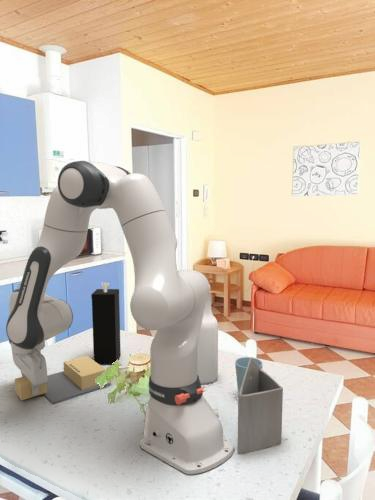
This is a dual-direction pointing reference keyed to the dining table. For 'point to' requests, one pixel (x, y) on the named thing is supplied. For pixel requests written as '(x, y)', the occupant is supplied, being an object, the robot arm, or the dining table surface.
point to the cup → (243, 369)
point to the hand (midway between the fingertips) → (30, 388)
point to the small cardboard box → (27, 388)
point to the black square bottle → (106, 324)
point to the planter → (259, 410)
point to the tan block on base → (74, 380)
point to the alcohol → (208, 347)
